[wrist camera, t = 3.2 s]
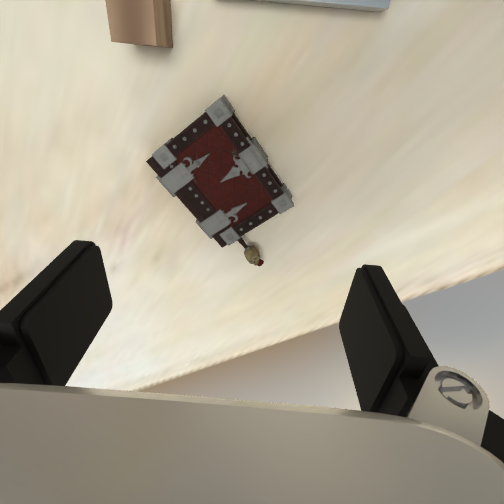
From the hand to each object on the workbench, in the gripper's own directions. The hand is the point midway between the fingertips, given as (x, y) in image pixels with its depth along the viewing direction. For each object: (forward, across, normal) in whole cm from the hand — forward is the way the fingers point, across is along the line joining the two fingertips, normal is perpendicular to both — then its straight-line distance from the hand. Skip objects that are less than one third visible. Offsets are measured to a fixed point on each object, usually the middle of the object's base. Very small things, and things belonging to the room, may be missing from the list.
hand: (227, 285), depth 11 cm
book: (+39, +2, +12) cm, 41 cm away
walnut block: (+38, +14, -10) cm, 42 cm away
